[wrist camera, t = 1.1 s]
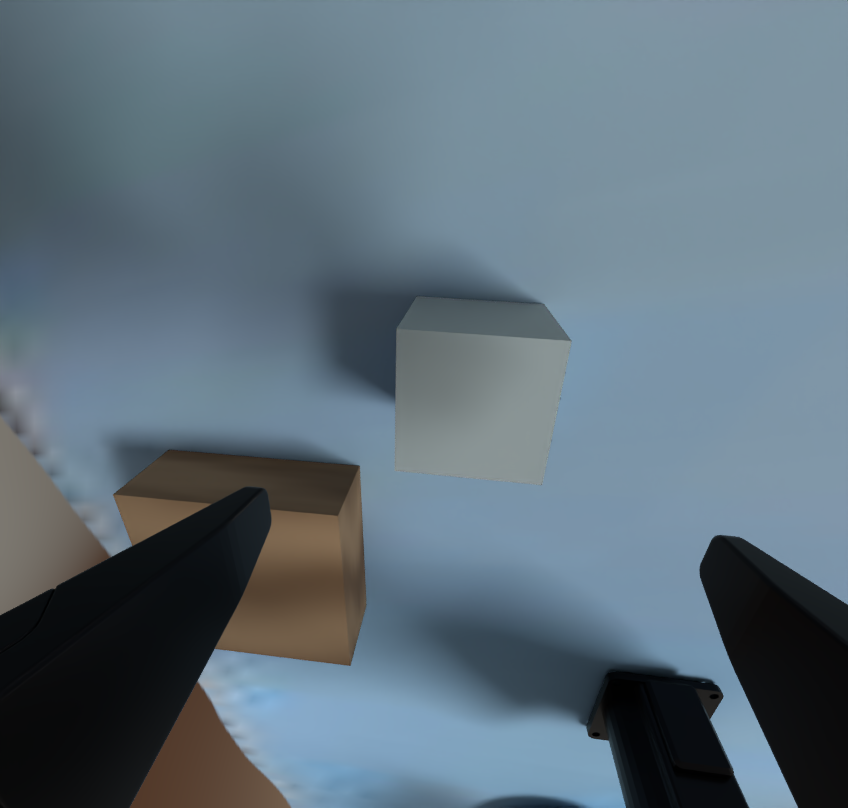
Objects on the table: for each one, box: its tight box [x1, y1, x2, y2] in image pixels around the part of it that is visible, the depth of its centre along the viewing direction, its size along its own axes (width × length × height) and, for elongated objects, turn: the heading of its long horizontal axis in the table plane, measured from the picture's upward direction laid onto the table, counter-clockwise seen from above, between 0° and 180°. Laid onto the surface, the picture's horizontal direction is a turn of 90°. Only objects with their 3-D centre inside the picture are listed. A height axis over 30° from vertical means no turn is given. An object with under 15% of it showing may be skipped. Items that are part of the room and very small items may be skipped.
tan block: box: [113, 450, 366, 666], centre depth 21 cm, size 10×10×4 cm
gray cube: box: [395, 296, 571, 485], centre depth 15 cm, size 5×5×5 cm
